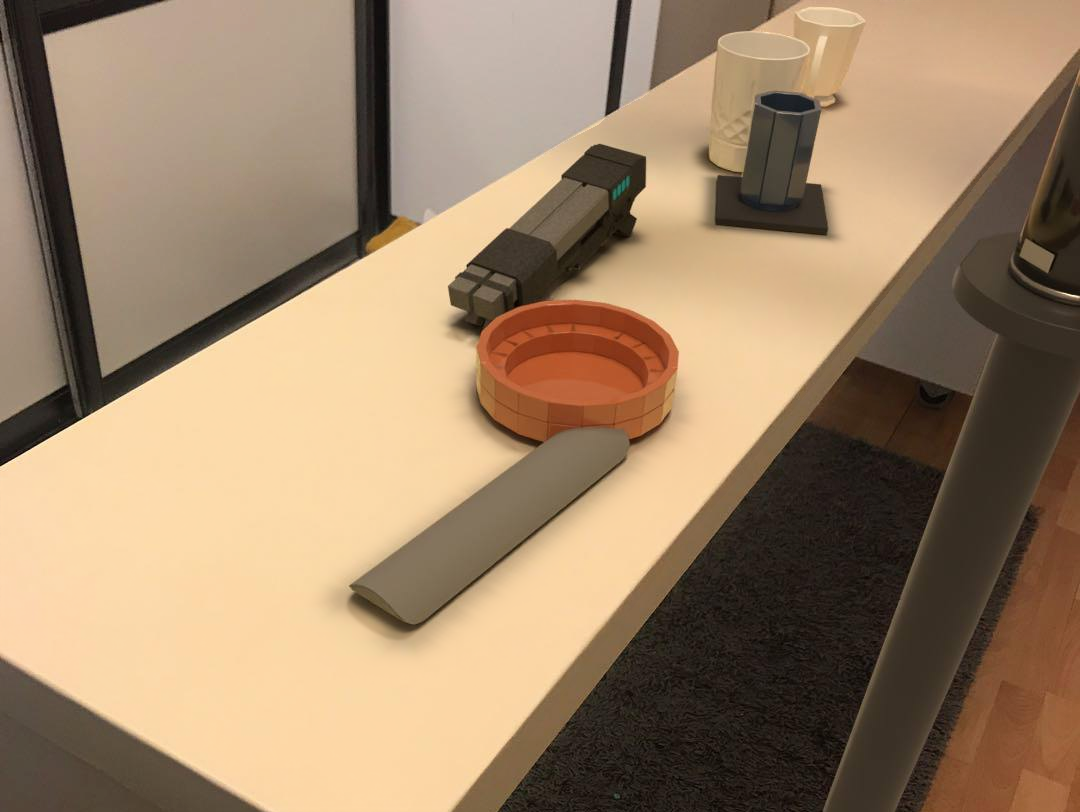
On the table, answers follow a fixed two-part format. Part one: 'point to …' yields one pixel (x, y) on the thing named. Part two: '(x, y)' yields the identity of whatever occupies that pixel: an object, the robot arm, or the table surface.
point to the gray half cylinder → (490, 523)
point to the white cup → (749, 86)
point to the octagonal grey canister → (779, 150)
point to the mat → (799, 219)
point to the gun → (553, 234)
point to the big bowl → (575, 369)
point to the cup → (827, 48)
